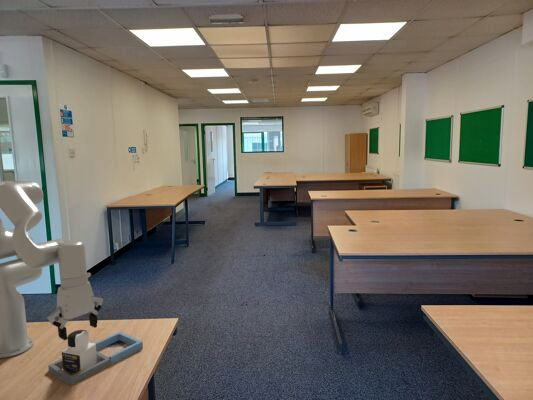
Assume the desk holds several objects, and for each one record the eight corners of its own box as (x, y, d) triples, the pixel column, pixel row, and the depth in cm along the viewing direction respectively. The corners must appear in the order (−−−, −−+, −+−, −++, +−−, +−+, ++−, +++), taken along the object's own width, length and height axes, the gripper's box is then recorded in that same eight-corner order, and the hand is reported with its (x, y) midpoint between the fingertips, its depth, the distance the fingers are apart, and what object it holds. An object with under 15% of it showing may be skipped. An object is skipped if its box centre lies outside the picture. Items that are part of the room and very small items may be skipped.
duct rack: (48, 371, 116) (48, 363, 116) (120, 337, 137) (120, 331, 137) (70, 385, 109) (69, 377, 108) (142, 348, 129) (142, 341, 129)
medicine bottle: (62, 372, 116) (59, 336, 114) (80, 360, 122) (77, 326, 121) (80, 375, 113) (78, 339, 112) (97, 363, 120) (95, 329, 119)
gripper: (93, 271, 123) (98, 319, 125) (39, 287, 109) (44, 341, 111) (106, 274, 119) (110, 324, 121) (51, 291, 105) (56, 347, 107)
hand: (79, 332), depth 116 cm, fingers open, 9 cm apart
